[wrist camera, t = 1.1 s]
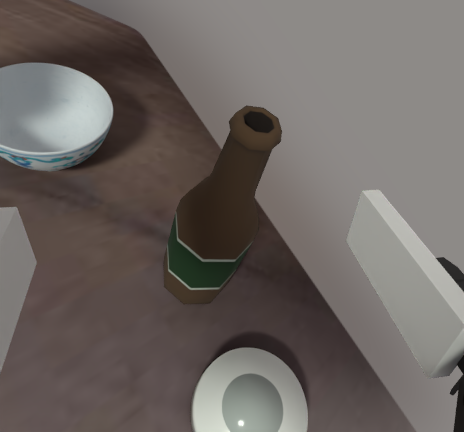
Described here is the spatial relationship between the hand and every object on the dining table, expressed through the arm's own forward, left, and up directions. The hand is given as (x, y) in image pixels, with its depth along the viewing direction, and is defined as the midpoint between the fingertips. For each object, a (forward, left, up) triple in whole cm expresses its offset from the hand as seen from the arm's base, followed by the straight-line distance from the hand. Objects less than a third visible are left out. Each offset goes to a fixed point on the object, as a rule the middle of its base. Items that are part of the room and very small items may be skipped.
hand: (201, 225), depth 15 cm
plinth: (+7, +7, -27) cm, 29 cm away
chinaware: (-31, 0, -28) cm, 41 cm away
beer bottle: (-8, +9, -28) cm, 30 cm away
